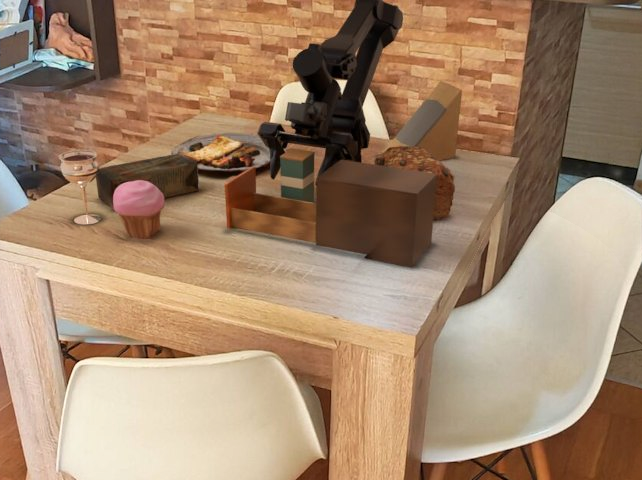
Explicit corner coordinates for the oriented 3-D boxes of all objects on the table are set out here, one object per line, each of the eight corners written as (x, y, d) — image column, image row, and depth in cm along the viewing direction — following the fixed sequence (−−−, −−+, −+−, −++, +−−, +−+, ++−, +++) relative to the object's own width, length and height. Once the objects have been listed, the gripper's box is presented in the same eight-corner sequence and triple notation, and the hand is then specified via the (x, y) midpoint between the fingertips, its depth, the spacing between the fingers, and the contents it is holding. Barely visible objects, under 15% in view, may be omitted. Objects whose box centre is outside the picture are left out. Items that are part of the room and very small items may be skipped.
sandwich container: (377, 156, 185) (380, 87, 176) (434, 147, 190) (440, 80, 182) (397, 167, 178) (401, 96, 170) (455, 157, 184) (462, 88, 176)
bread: (453, 219, 153) (458, 167, 148) (398, 224, 151) (401, 171, 146) (420, 185, 169) (424, 137, 163) (370, 189, 167) (372, 140, 161)
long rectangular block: (280, 213, 156) (279, 156, 150) (292, 204, 160) (292, 148, 154) (303, 217, 154) (303, 159, 148) (314, 208, 158) (314, 151, 152)
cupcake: (152, 248, 142) (146, 193, 136) (108, 242, 144) (100, 187, 139) (175, 229, 149) (170, 176, 143) (133, 223, 151) (126, 170, 146)
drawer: (220, 229, 148) (217, 182, 144) (247, 209, 156) (245, 165, 152) (315, 247, 142) (316, 199, 137) (339, 226, 150) (340, 180, 145)
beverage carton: (201, 191, 165) (199, 159, 162) (113, 212, 156) (108, 178, 152) (182, 180, 171) (179, 148, 167) (96, 200, 161) (91, 167, 158)
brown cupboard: (315, 249, 142) (316, 177, 135) (339, 227, 150) (341, 159, 143) (411, 267, 136) (417, 193, 129) (431, 244, 144) (437, 173, 137)
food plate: (236, 186, 168) (236, 169, 166) (150, 166, 178) (148, 150, 176) (302, 154, 186) (302, 138, 184) (220, 137, 196) (219, 122, 194)
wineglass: (67, 215, 154) (56, 152, 148) (103, 210, 156) (94, 148, 150) (71, 228, 149) (60, 163, 143) (108, 223, 151) (99, 159, 145)
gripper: (260, 77, 151) (233, 153, 148) (354, 88, 144) (328, 168, 142) (280, 110, 161) (255, 182, 158) (369, 122, 154) (344, 197, 152)
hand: (294, 182), depth 152 cm, fingers open, 9 cm apart
